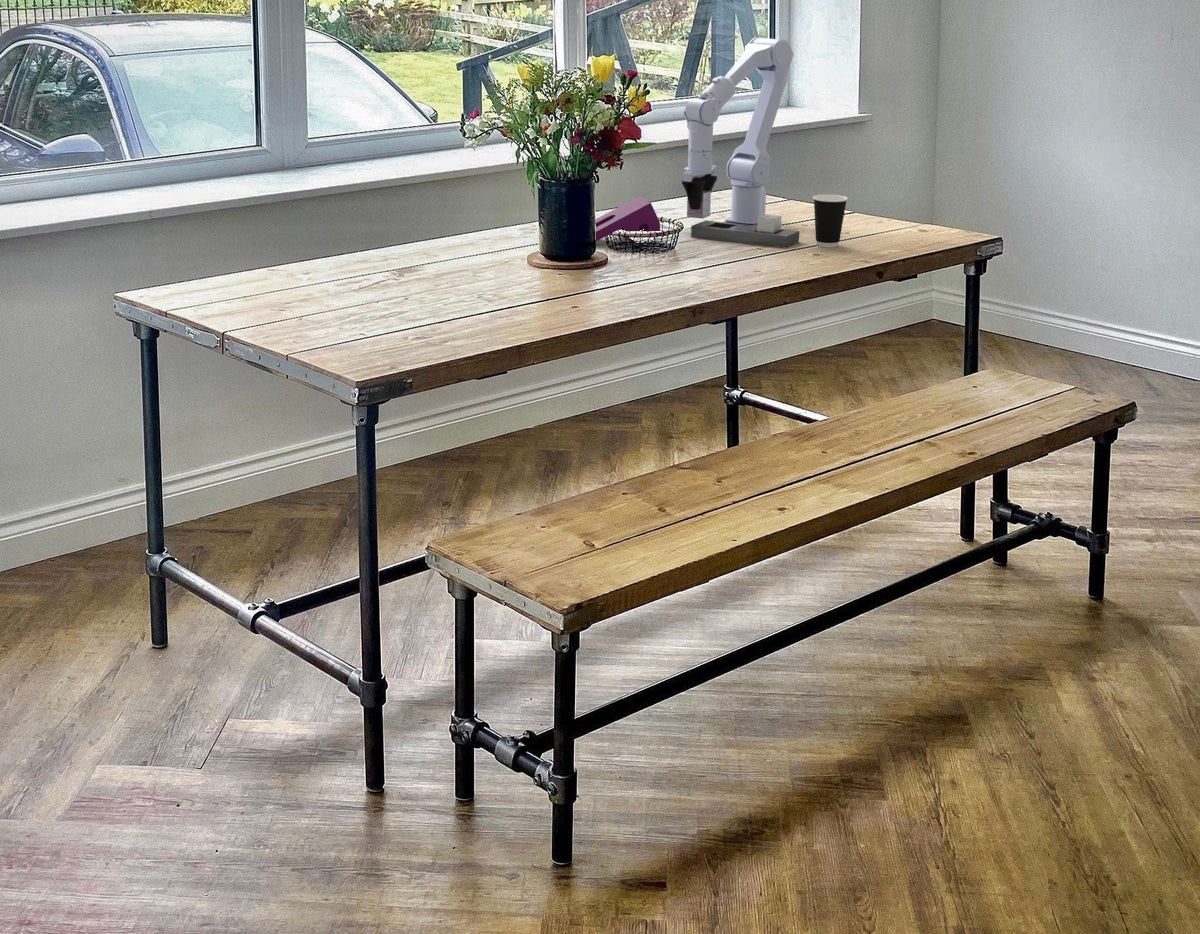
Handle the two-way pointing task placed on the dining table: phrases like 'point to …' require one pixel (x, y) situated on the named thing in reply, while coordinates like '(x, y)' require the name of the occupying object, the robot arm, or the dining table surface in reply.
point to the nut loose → (701, 206)
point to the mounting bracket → (628, 218)
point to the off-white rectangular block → (769, 224)
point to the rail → (743, 234)
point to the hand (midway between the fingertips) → (698, 207)
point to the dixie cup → (829, 218)
